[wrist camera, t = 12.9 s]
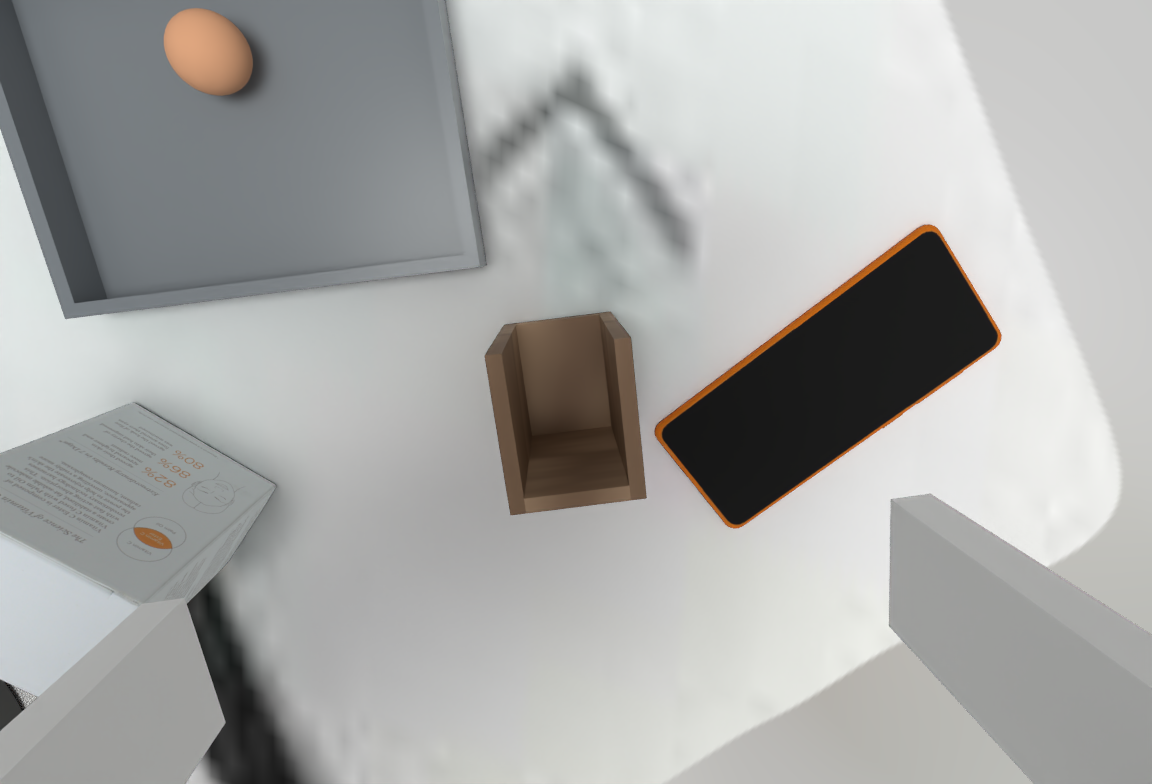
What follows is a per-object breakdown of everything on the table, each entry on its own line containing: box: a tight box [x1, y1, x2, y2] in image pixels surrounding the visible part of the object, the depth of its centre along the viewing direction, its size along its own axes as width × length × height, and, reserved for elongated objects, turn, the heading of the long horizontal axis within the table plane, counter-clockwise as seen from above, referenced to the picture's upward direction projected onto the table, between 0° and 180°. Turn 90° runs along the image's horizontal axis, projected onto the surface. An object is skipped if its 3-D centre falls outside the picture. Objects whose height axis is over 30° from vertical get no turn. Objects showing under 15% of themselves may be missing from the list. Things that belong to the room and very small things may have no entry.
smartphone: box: [655, 225, 1001, 528], centre depth 30 cm, size 8×17×1 cm, turn 128°
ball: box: [164, 8, 253, 96], centre depth 23 cm, size 3×3×3 cm
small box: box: [0, 403, 276, 697], centre depth 25 cm, size 8×6×10 cm
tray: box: [0, 0, 487, 319], centre depth 25 cm, size 18×14×2 cm
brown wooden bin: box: [485, 312, 647, 515], centre depth 25 cm, size 5×6×8 cm
